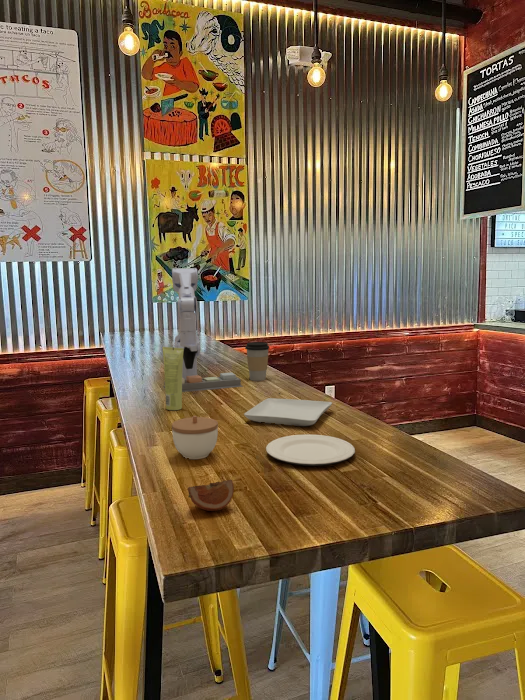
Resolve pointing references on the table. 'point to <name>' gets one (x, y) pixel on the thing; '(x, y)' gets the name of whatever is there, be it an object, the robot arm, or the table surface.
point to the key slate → (227, 376)
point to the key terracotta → (193, 379)
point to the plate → (310, 450)
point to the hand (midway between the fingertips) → (189, 368)
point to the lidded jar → (195, 436)
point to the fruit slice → (212, 495)
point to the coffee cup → (257, 360)
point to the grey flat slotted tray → (210, 385)
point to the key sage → (210, 379)
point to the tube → (173, 377)
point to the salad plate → (288, 411)
